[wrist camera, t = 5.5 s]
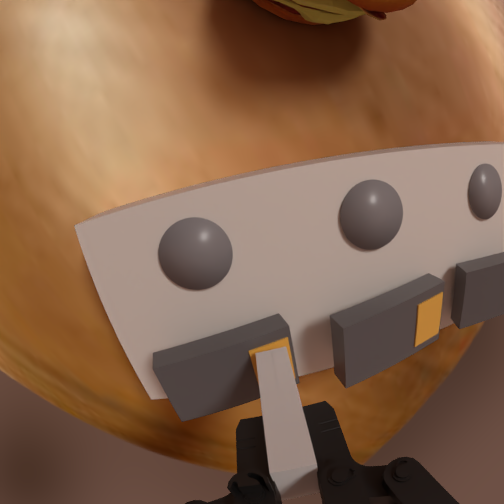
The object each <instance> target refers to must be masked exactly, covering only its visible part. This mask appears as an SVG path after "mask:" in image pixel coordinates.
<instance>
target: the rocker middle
mask: <svg viewBox="0 0 504 504" xmlns="http://www.w3.org/2000/svg"><path fill="white" fill-rule="evenodd" d="M444 286H445V281H444V280H442V279H440V278H438V277H436V276H434V275H431V274H429V273H428V274H425V275H423V276H421V277H419V278H417V279H415V280H413V281H410V282H408V283H406V284H404V285H402V286H399V287H397V288H395V289H393V290H390V291H388V292H386V293H383V294H381V295H379V296H376V297H374V298H371V299H369V300H367V301H364V302H362V303H359V304H357V305H354V306H352V307H349V308H347V309H344V310H342V311H339V312H336V313H334V314H331V315H330V325H331V335H332V347H333V359H334V373H335V375H336V376H337V377H338V379H339V380H340V381H341V383H342V384H343V385H344V386H345V388H348V387H350V386H352V385H354V384H357V383H359V382H361V381H363V380H365V379H367V378H369V377H371V376H373V375H375V374H377V373H379V372H381V371H383V370H385V369H387V368H389V367H391V366H392V365H394V364H396V363H398V362H400V361H402V360H403V359H405V358H407V357H409V356H410V355H412V354H414V353H416V352H417V351H419V350H421V349H422V348H424V347H426V346H427V345H429V344H431V343H432V342H434V341H435V340H437V339H438V337H439V331H440V324H441V316H442V307H443V298H444Z"/></svg>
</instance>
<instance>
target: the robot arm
mask: <svg viewBox="0 0 504 504" xmlns="http://www.w3.org/2000/svg"><path fill="white" fill-rule="evenodd" d="M255 354H256V363H257V372H258V381H259V389H260V398H261V406H262V415H263V416H259V417H254V418H248V419H241V420H240V422H239V424H238V426H237V429H236V441H237V442H236V448H237V474H235V475H234V476H233V477H232V478H231V479H230V481H229V483H228V487H227V488H228V489H229V491H230V492H231V493H230V494H228V495H227V496H225V497H223V498H220V499H218V500H214V501H211V502H208V503H207V502H204V501H201V500H193V501H190V502H187V503H185V504H282V501H281V500H287V499H292V498H298V497H302V496H307V495H312V494H316V493H320V494H321V498H322V504H459V503H458V502H457V501H456V500H455V499H454V498H453V497H452V496H451V495H450V494H449V493H448V492H447V491H446V490H445V489H444V488H443V487H442V486H441V485H440V484H439V483H438V482H437V481H436V480H435V479H434V478H433V477H432V475H430V473H429V472H428V471H427V470H426V469H425V468H424V467H423V466H422V465H421V464H420V463H419V462H418V461H416V460H415V459H413V458H409V457H401V458H397V459H395V460H393V461H392V462H390V463H389V464H388V465H385V466H373V467H372V466H363V465H360V464H358V463H357V462H355V461H354V460H353V459H352V457H351V455H350V452H349V449H348V447H347V444H346V441H345V438H344V436H343V433H342V430H341V428H340V425H339V422H338V420H337V416H336V414H335V411H334V408H333V407H331V406H330V405H329V404H328V403H327V402H326V401H323V402H319V403H316V404H312V405H308V406H304V407H302V404H301V400H300V397H299V393H298V389H297V385H296V382H295V378H294V374H293V370H292V366H291V363H290V359H289V355H288V352H287V348H286V346H285V347H281V348H277V349H272V350H268V351H263V352H258V353H255Z"/></svg>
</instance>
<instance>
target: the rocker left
mask: <svg viewBox="0 0 504 504" xmlns="http://www.w3.org/2000/svg"><path fill="white" fill-rule="evenodd" d="M285 346H286V348H287V352H288V355H289V359H290V363H291V366H292V370H293V374H294V378H295V382H296V384H298V383H299V377H298V372H297V366H296V360H295V355H294V349H293V344H292V338H291V333H290V328H289V325H288V324H287V322H286V321H285V320H284V319H283V318H282V316H281V315H280V314H279V313H278V314H275V315H272V316H269V317H266V318H263V319H261V320H258V321H255V322H252V323H249V324H246V325H243V326H240V327H237V328H234V329H231V330H228V331H224V332H221V333H218V334H215V335H212V336H209V337H205V338H202V339H199V340H195V341H192V342H189V343H185V344H182V345H179V346H175V347H172V348H168V349H164V350H161V351H157V352H154V353H153V366H152V369H153V371H154V373H155V375H156V377H157V379H158V380H159V382H160V384H161V386H162V388H163V390H164V392H165V393H166V395H167V397H168V399H169V400H170V402H171V404H172V406H173V407H174V409H175V411H176V413H177V414H178V416H179V418H180V419H181V421H182V422H183V421H187V420H191V419H195V418H198V417H202V416H206V415H209V414H213V413H216V412H219V411H223V410H226V409H229V408H232V407H235V406H238V405H241V404H244V403H247V402H250V401H253V400H256V399H259V398H260V389H259V381H258V372H257V363H256V354H255V353H258V352H263V351H268V350H272V349H277V348H281V347H285Z"/></svg>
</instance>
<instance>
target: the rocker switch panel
mask: <svg viewBox="0 0 504 504" xmlns="http://www.w3.org/2000/svg"><path fill="white" fill-rule="evenodd" d="M74 227H75V230H76V233H77V236H78V239H79V242H80V245H81V248H82V251H83V254H84V257H85V260H86V263H87V266H88V268H89V271H90V274H91V276H92V279H93V281H94V284H95V287H96V289H97V292H98V294H99V296H100V299H101V301H102V304H103V306H104V308H105V311H106V313H107V315H108V317H109V320H110V322H111V324H112V326H113V328H114V330H115V333H116V335H117V337H118V339H119V341H120V343H121V345H122V347H123V349H124V351H125V353H126V355H127V357H128V359H129V361H130V363H131V364H132V366H133V368H134V370H135V372H136V374H137V375H138V377H139V379H140V381H141V383H142V384H143V386H144V388H145V390H146V391H147V393H148V395H149V396H150V398H151V399H164V398H168V397H167V395H166V393H165V392H164V390H163V388H162V386H161V384H160V382H159V380H158V379H157V377H156V375H155V373H154V371H153V369H152V366H153V353H154V352H157V351H161V350H164V349H168V348H172V347H175V346H179V345H182V344H185V343H189V342H192V341H195V340H199V339H202V338H205V337H209V336H212V335H215V334H218V333H221V332H224V331H228V330H231V329H234V328H237V327H240V326H243V325H246V324H249V323H252V322H255V321H258V320H261V319H263V318H266V317H269V316H272V315H275V314H278V313H279V314H280V315H281V316H282V318H283V319H284V320H285V321H286V322H287V324H288V325H289V328H290V333H291V338H292V344H293V349H294V355H295V360H296V366H297V372H298V376H302V375H306V374H310V373H314V372H318V371H322V370H325V369H329V368H333V367H334V359H333V347H332V335H331V325H330V315H331V314H334V313H336V312H339V311H342V310H344V309H347V308H349V307H352V306H354V305H357V304H359V303H362V302H364V301H367V300H369V299H371V298H374V297H376V296H379V295H381V294H383V293H386V292H388V291H390V290H393V289H395V288H397V287H399V286H402V285H404V284H406V283H408V282H410V281H413V280H415V279H417V278H419V277H421V276H423V275H425V274H428V273H429V274H431V275H434V276H436V277H438V278H440V279H442V280H444V281H445V286H444V298H443V307H442V316H441V324H440V329H442V328H444V327H447V326H449V325H451V324H453V323H454V322H453V321H452V319H451V311H452V303H453V294H454V283H455V270H456V264H457V263H461V262H465V261H469V260H473V259H477V258H482V257H486V256H489V255H493V254H497V253H501V252H504V142H492V141H489V142H463V143H446V144H432V145H421V146H410V147H400V148H391V149H383V150H374V151H367V152H359V153H352V154H345V155H339V156H332V157H326V158H320V159H314V160H308V161H303V162H297V163H292V164H287V165H281V166H276V167H271V168H266V169H262V170H257V171H252V172H248V173H243V174H239V175H234V176H230V177H225V178H221V179H217V180H213V181H209V182H205V183H201V184H197V185H193V186H189V187H185V188H182V189H178V190H174V191H170V192H167V193H163V194H160V195H156V196H153V197H149V198H146V199H142V200H139V201H136V202H132V203H129V204H126V205H123V206H120V207H116V208H113V209H110V210H107V211H104V212H102V213H100V214H97V215H95V216H93V217H91V218H89V219H87V220H85V221H83V222H81V223H79V224H76V225H74Z"/></svg>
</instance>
